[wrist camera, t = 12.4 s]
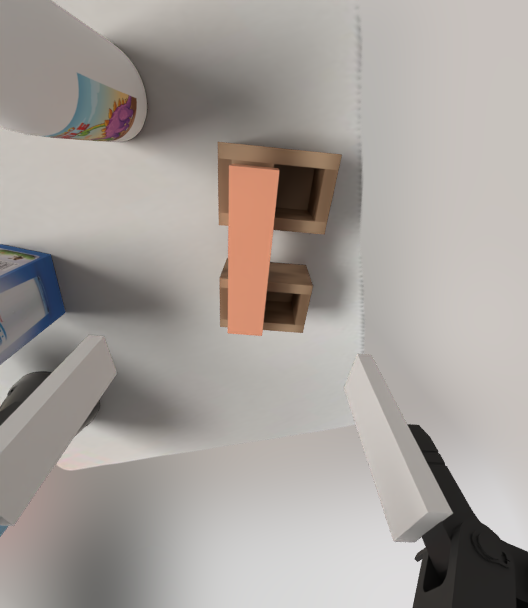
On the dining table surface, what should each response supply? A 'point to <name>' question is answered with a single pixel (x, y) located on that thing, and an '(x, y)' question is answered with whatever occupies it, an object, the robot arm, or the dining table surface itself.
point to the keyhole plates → (283, 222)
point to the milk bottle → (64, 77)
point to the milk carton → (26, 297)
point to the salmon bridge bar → (249, 244)
